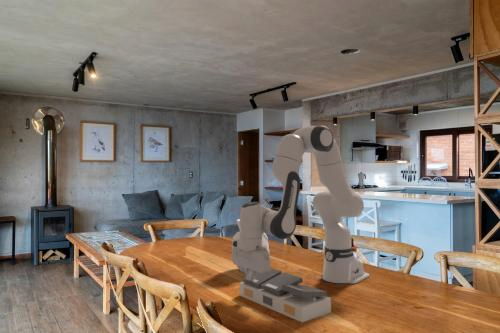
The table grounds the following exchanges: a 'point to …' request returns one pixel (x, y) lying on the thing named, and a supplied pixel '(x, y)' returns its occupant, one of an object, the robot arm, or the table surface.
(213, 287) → the table surface
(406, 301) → the table surface
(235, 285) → the table surface
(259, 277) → the rocker
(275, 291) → the rocker
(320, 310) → the console
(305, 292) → the rocker
